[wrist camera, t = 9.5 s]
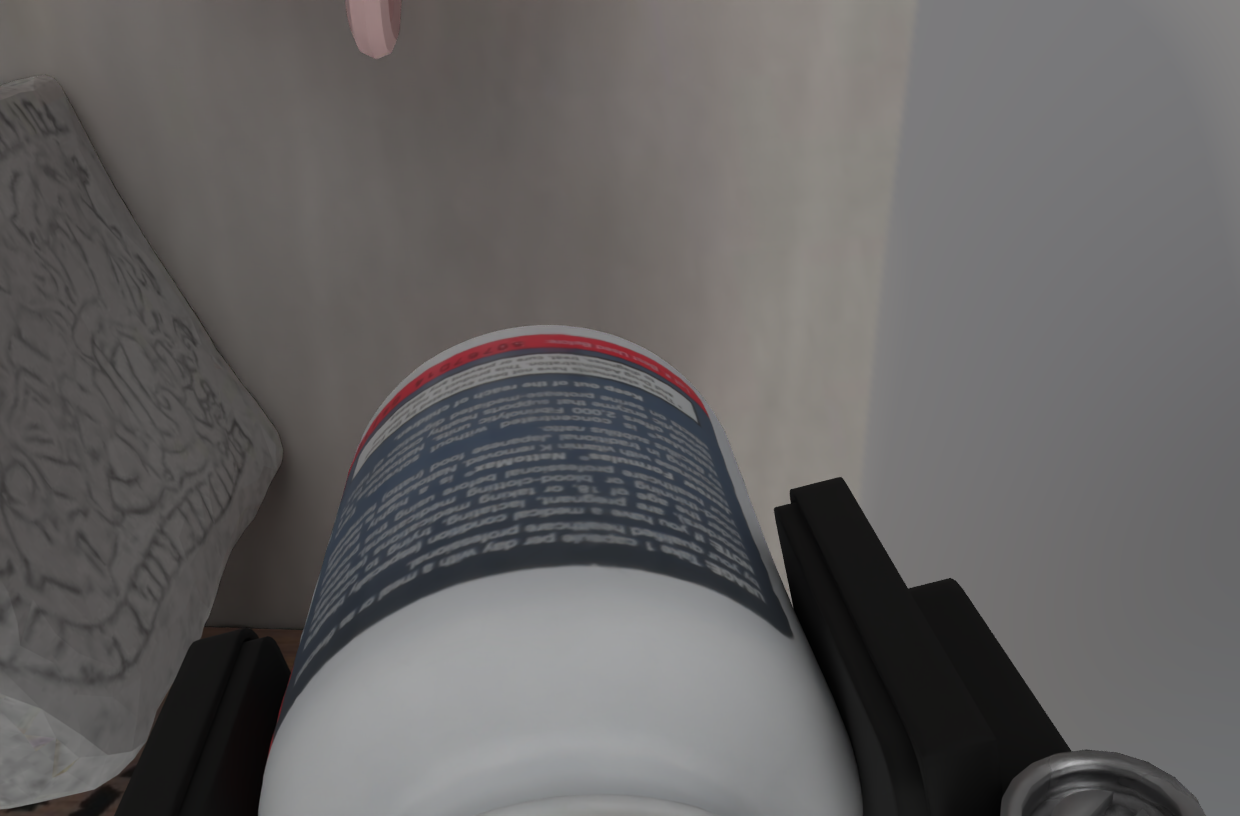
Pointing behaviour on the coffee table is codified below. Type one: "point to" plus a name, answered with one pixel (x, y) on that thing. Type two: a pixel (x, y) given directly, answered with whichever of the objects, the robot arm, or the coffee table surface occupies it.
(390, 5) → the mug
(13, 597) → the decorative stone
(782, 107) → the coffee table surface
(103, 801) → the tissue box cover
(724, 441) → the pill bottle
